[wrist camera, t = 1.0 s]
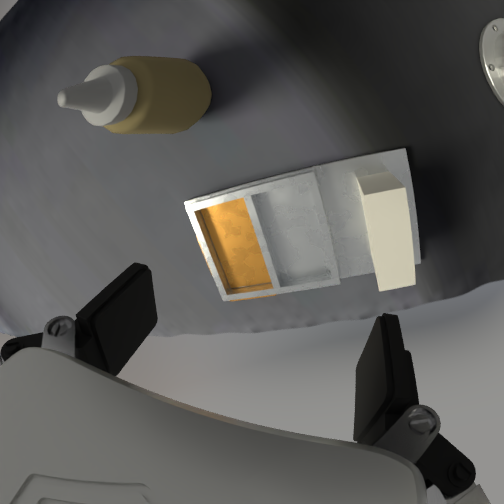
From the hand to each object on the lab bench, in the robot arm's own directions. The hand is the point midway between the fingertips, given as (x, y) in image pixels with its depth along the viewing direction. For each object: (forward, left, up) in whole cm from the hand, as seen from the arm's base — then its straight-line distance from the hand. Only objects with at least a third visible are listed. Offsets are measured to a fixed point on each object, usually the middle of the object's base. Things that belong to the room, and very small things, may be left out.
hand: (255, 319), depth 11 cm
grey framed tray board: (+1, +5, -22) cm, 22 cm away
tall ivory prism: (-7, +5, -21) cm, 23 cm away
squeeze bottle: (+9, -13, -22) cm, 27 cm away
